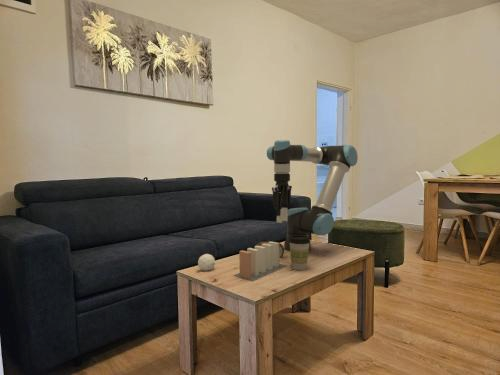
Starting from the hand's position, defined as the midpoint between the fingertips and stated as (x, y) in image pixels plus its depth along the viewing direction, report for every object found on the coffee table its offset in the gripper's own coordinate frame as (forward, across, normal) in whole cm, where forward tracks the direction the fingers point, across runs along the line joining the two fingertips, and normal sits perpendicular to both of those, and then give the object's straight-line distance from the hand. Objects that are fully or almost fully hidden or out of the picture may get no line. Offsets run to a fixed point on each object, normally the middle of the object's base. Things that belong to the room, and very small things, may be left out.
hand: (282, 221), depth 161 cm
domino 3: (+20, +17, 0) cm, 26 cm away
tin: (+21, -3, -10) cm, 23 cm away
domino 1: (+20, +27, 0) cm, 33 cm away
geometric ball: (+21, +30, -21) cm, 42 cm away
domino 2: (+20, +22, 0) cm, 30 cm away
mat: (+21, +16, 0) cm, 26 cm away
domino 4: (+20, +12, 0) cm, 23 cm away
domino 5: (+20, +7, 0) cm, 21 cm away
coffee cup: (+21, +2, +11) cm, 24 cm away
